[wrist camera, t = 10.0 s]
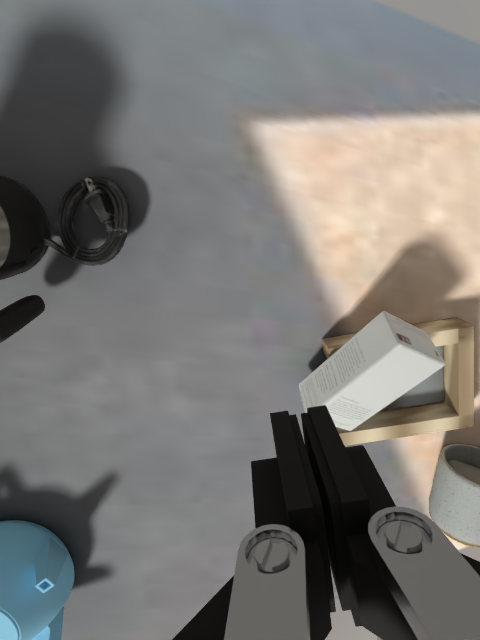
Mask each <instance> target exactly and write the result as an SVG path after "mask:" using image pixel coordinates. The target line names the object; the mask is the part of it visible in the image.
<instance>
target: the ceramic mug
mask: <svg viewBox="0 0 480 640" xmlns="http://www.w3.org/2000/svg"><path fill="white" fill-rule="evenodd" d="M429 513H430V516H431V518H432V520H433V521H434V523H435V524H436V525H437V526H438V528H439V529H440V530H441V531H442V532H443V533H445V534H446V535H447V536H449V537H450V538H452V539H453V540H455V541H458V542H460V543H462V544H464V545H468V546H472V547H480V447H477V446H473V445H468V444H450V445H447V446H445V447H444V448H443V449H442V451H441V453H440V457H439V461H438V465H437V469H436V474H435V477H434V482H433V486H432V489H431V493H430V497H429Z"/></svg>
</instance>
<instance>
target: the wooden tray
mask: <svg viewBox="0 0 480 640" xmlns="http://www.w3.org/2000/svg"><path fill="white" fill-rule="evenodd" d="M413 326H415V327H417V328H419V329H421V330H423V331H425V332H426V334H427V335H428V336H429V338H430V339H431V341H432V342H433V344H434V345H435V347H436V349H437V350H438V352H439V353H440V355H441V356H442V358H443V360H444V361H445V366H444V388H443V367H442V368H441V369H439V370H438V371H436V372H435V373H434V374H432V375H431V376H429V377H428V378H426V379H425V380H424V381H422V382H421V383H419V384H418V385H416V386H415V387H413V388H412V389H410V390H409V391H408V392H406V393H405V394H403V395H402V396H400V397H399V398H397V399H396V400H395V401H393V402H392V403H390V404H389V405H387V406H386V407H385V408H383V409H382V410H388V409H395V408H401V409H395V410H388V411H382V410H380V411H381V412H377V413H376V414H375V415H373V416H372V417H370V418H369V419H367V420H366V421H364V422H363V423H362V424H360V425H359V426H357V427H356V428H354V429H353V430H351V431H348V430H345V429H341V428H338V427H336V428H337V431H338V433H339V435H340V437H341V439H342V441H343V444H344V446H346V445H353V444H360V443H367V442H373V441H380V440H387V439H394V438H400V437H407V436H414V435H421V434H428V433H434V432H441V431H448V430H455V429H461V428H468V427H474V326H473V325H471V324H469V323H467V322H465V321H463V320H461V319H459V318H451V319H445V320H438V321H432V322H425V323H419V324H413ZM356 334H357V333H355V334H348V335H342V336H336V337H329V338H323V339H322V344H323V352H324V354H325V355H326V357H327V359H328V358H329V357H330V356H331V355H333V354H334V353H335V352H336V351H337V350H338V349H340V348H341V347H342V346H343V345H344V344H345V343H346V342H347V341H349V340H350V339H351V338H352V337H353V336H354V335H356ZM442 401H444V402H442ZM435 402H441V403H435ZM428 403H435V404H428ZM422 404H428V405H422ZM415 405H421V406H415ZM408 406H415V407H408ZM402 407H408V408H402Z"/></svg>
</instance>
